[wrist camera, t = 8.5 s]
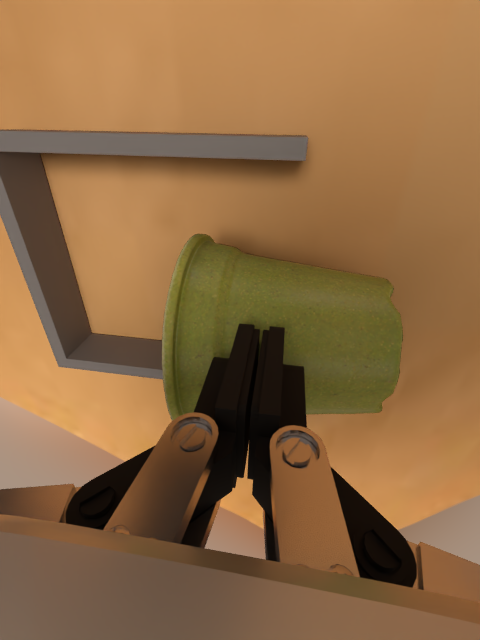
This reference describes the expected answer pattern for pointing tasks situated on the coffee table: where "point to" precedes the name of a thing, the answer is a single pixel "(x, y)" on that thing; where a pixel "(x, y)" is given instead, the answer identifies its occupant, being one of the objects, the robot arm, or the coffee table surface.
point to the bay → (48, 241)
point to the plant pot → (281, 311)
